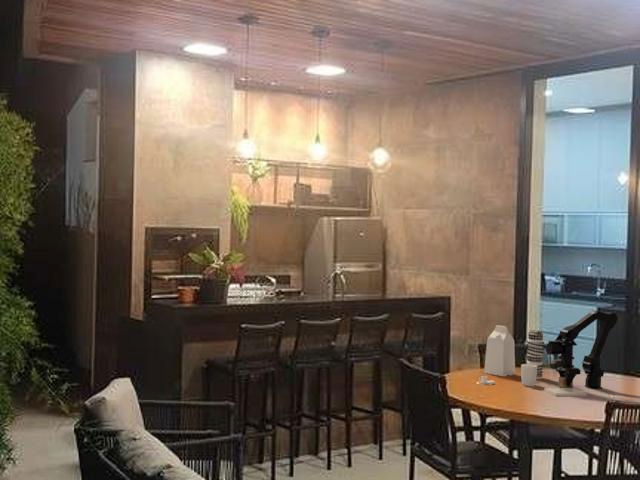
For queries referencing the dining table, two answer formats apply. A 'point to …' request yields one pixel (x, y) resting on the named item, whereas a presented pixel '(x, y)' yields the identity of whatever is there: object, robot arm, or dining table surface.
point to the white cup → (528, 374)
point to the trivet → (565, 392)
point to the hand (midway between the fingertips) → (565, 385)
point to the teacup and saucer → (485, 380)
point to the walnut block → (564, 383)
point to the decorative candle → (535, 350)
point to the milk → (500, 353)
